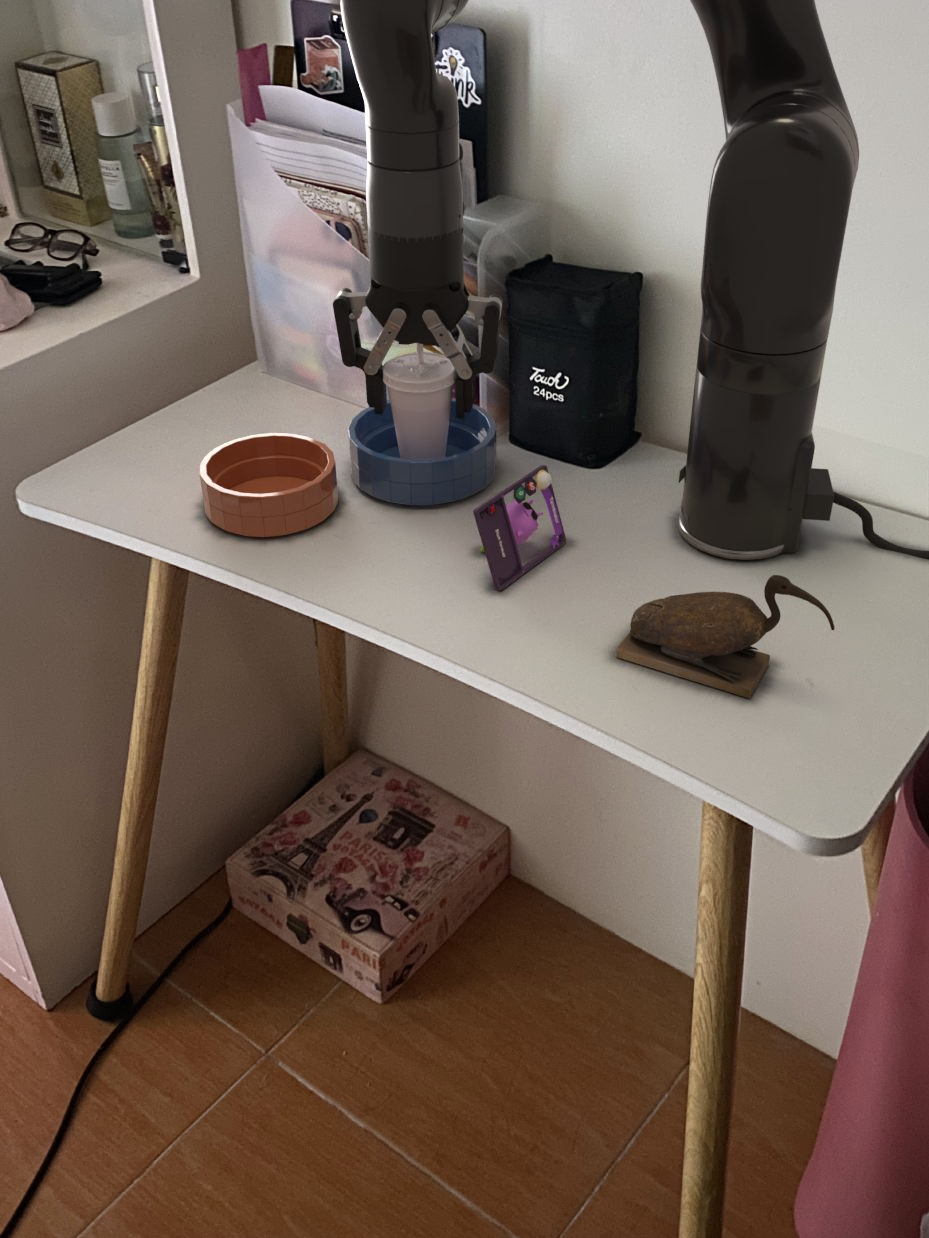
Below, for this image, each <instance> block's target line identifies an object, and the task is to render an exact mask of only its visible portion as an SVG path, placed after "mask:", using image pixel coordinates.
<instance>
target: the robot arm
mask: <svg viewBox="0 0 929 1238" xmlns="http://www.w3.org/2000/svg"><path fill="white" fill-rule="evenodd" d="M689 1H690V3H691V5H692V7H693V9H694V11H695V13H696V15H697V17H698V19H699V22H700V24H701V26H702V29H703V31H704V36H705V38H706V41H707V44H708V47H709V51H710V55H711V60H712V64H713V68H714V72H715V78H716V82H717V87H718V88H717V89H718V94H719V98H720V105H721V112H722V118H723V125H724V132H725V133H724V134H725V142H724V143H723V145H722V146H721V148H720V150H719V152H718V154H717V157H716V159H715V162H714V165H713V169H712V174H711V177H710V184H709V191H708V199H707V210H706V220H705V233H704V242H703V243H704V244H703V253H702V254H703V256H702V268H701V276H700V277H701V279H700V297H701V298H700V299H701V303H702V304H701V305H702V307H701V309H702V311H701V320H700V321H701V322H700V330H699V338H698V339H699V340H698V349H697V357H696V368H695V376H694V377H695V378H694V386H693V395H692V405H691V413H690V422H689V433H688V442H687V449H686V450H687V451H686V461H685V465H684V466H683V468H681V469H680V470H679V473H678V483H677V484H678V485H679V484H680V483H681V482H682V481H683V489H682V491H683V492H682V498H681V503H680V512H679V515H678V526H677V527H678V530H679V533H680V535H681V536H682V537H683V539H684V540H685V541H686V542H687V543H688V544H690V545H691V546H693V547H694V548H696V549H698V550H700V551H702V552H704V553H706V554H708V555H712V556H716V557H720V558H724V559H730V560H740V561H741V560H743V561H753V560H761V559H768V558H771V557H774V556H777V555H779V554H782V553H794V554H795V553H797V552H798V548H799V542H800V536H801V530H802V524H803V520H805V521H806V520H807V521H808V520H809V521H827V522H830V521H831V516H832V511H833V504H835V505H838V506H840V507H843V508H845V509H847V510H849V511H851V512H853V513H855V514H856V515H857V516H858V518H860V519H861V524H862V533H863V536H864V538H865V539H866V540H867V541H868V542H870V543H871V544H872V545H874V547H875V546H876V547H877V548H879V549H883V550H886V551H890V552H895V553H899V554H903V555H908V556H911V557H916V558H920V559H924V560H929V550H923V549H922V550H921V549H914V548H909V547H904V546H901V545H897V544H895V543H893V542H891V541H888V540H886V539H885V538H883V537H882V536H880V535H879V534H878V533H876V532H875V530H874V519H873V517H872V514H871V512H870V511H869V510H868V509H867V508H866V507H865V506H864V505H862V504H861V503H859V502H858V501H857V500H854V499H852V498H850V497H848V496H845V495H843V494H841V493H838V492H836V491H834V488H833V485H832V480H831V476H830V471H829V469H828V468H813V461H814V455H815V449H816V445H815V439H814V435H813V427H814V421H815V415H816V410H817V403H818V398H819V392H820V387H821V386H820V385H821V381H822V380H821V379H822V373H823V368H824V362H825V357H826V351H827V345H828V338H829V335H830V334H829V333H830V329H831V324H832V319H833V312H834V304H835V296H836V288H837V282H838V275H839V271H840V270H839V269H840V263H841V257H842V252H843V246H844V242H845V241H844V240H845V235H846V230H847V225H848V224H847V222H848V218H849V212H850V206H851V200H852V196H853V195H852V194H853V189H854V186H855V182H856V178H857V174H858V170H859V165H860V164H859V161H860V146H859V145H860V144H859V138H858V134H857V130H856V127H855V124H854V121H853V119H852V116H851V112H850V110H849V107H848V104H847V101H846V99H845V95H844V92H843V90H842V87H841V84H840V81H839V79H838V78H839V77H838V76H837V72H836V69H835V66H834V64H833V63H834V62H833V60H832V57H831V53H830V50H829V47H828V43H827V41H826V37H825V35H824V31H823V28H822V24H821V21H820V17H819V13H818V10H817V5H816V0H689ZM469 2H470V0H339V3H340V5H339V6H340V14H341V15H340V16H341V21H342V25H343V31H344V35H345V39H346V42H347V46H348V50H349V53H350V57H351V61H352V65H353V68H354V73H355V76H356V80H357V82H358V84H359V88H360V92H361V94H362V98H363V102H364V121H365V122H364V123H365V140H366V158H367V160H366V165H367V166H366V181H365V203H366V206H365V207H366V222H367V224H366V225H367V240H368V243H367V244H368V258H369V259H368V260H369V276H370V277H369V279H370V284H369V288H368V290H367V291H352V290H351V289H350V288H348V287H343V288H341V289H340V290H339V292H338V293H337V295H336V296H335V298H334V300H333V302H332V309H333V315H334V320H335V327H336V332H337V333H336V334H337V339H338V344H339V350H340V355H341V357H340V358H341V361H342V364H343V365H344V366H345V367H347V368H353V367H355V368H357V369H360V370H361V371H362V372H363V373H364V376H365V393H366V403H367V405H368V407H373V408H374V411H375V414H384V412H385V409H386V406H387V400H388V397H387V396H388V395H387V385H386V384H385V383H384V382H383V380H382V377H383V365H384V364H383V362H384V360H385V358H386V356H387V355H388V353H389V350H390V349H391V347H392V346H393V343H394V341H396V342H398V345H403V346H404V345H405V346H406V345H408V346H409V345H413V344H417V343H420V344H423V346H426V347H427V346H429V347H436V346H437V344H438V346H439V348H440V350H441V351H442V353H443V355H444V356H446V358H447V359H449V360H450V361H451V363H452V365H453V367H454V368H455V370H456V372H457V376H456V379H455V383H454V385H455V387H454V388H455V389H454V390H455V399H456V418H459V419H464V418H465V415H466V412H469V413H470V412H471V409H472V407H473V404H474V403H475V376H477V375H479V374H486V375H488V374H491V373H492V372H493V371H494V368H495V362H496V361H497V357H498V347H499V337H500V329H501V320H502V311H503V301H504V300H503V298H502V296H501V295H499V294H497V293H492V294H491V295H489V296H488V297H486V296H485V297H484V296H478V295H477V296H476V295H471V294H470V292H469V290H468V288H467V287H466V284H465V272H464V270H465V269H464V265H465V264H464V263H465V262H464V261H465V260H464V258H465V257H464V215H465V201H464V191H463V187H464V186H463V179H462V173H461V165H460V114H459V113H460V112H459V101H458V92H457V89H456V86H455V85H454V83H453V81H452V80H451V79H450V78H448V77H447V76H445V75H444V74H442V73H439V72H437V67H436V61H435V54H434V48H433V41H432V34H433V33H436V32H438V31H441V30H444V29H446V28H447V27H449V26H450V25H451V24H452V23H454V22H455V21H456V20H458V17H460V15H461V14H462V13H463V11H464V10H465V8H466V7H467V5H468V3H469ZM364 308H367V310H368V311H369V312H370V313H371V314H372V316H373V317H374V318H375V319H376V321H377V322H378V323H379V325H380V326H381V327H382V329H381V330H380V333H379V334H378V337H377V339H376V340H375V342H374V344H373V347H372V348H371V350H370V349H367V348H364V347H362V341H361V335H360V328H359V324H358V323H359V322H358V320H359V319H360V318H361V316H362V314H363V312H364V311H363V310H364ZM468 311H470V312H471V313H472V314H473V315H474V321H475V323H476V324H477V325H478V326H481V327H482V334H481V343H480V344H481V345H480V352H479V353H475V354H473V352H472V351H471V349H470V347H469V345H468V343H467V341H466V337H465V334H464V333H463V331H462V329H461V327H460V325H459V322H460V321H461V320H462V318H464V316H465V315H466V314H467V312H468ZM474 405H475V404H474Z"/></svg>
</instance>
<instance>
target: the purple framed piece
mask: <svg viewBox="0 0 929 1238" xmlns="http://www.w3.org/2000/svg"><path fill="white" fill-rule="evenodd" d="M534 477H535V478H534ZM552 481H553V480H552V476H551V474H550V472H549V469H548V466H547V465H546V464H542V465H541V464H540V465H539V466H538V467H536V468H535V469H533V470H532V471H530V472H529V473H527V474H526V475H524V476H522V477H521V478H519V479H518V480H516V481H515V482H512V484H510V485H509V486H507V487H506V488H504V489H502V490H501V491H499V492H498V493H496V494H495V495H494V496H493V495H492V497H490V498H489V499H487V500H485V501H484V502H483V503H481V504H480V505H478V506H476V507H475V508H474V509H473V510H472V511H473V512H472V514H473V517H474V520H475V525H476V528H477V530H478V535H479V537H480V541H481V545H482V546H481V547H480V549H479V551H480V552H481V553H484V555H485V558H486V562H487V566H488V569H489V571H490V572H489V573H490V575H491V579H492V582H493V585H494V588H495V590H496V591H502V590H505V588H507V587H508V586H510V584H512V583H513V582H515V581H516V580H518V579H519V578H520V577H522V576H523V575H524V574H525V573H527V572H528V571H530V570H531V569H532V568H534V567H535V566H536V565H537V564H539V563H541V562H542V561H543V560H544V559H546V558H547V557H549V556H550V555H551V554H553V553H554V552H555V551H557V550H558V549H559V548H561V547H563V545H565V544H566V543H567V537H566V533H565V529H564V525H563V521H562V518H561V514H560V510H559V507H558V502H557V499H556V495H555V492H554V488H553V484H552ZM523 484H524V485H523ZM537 487H538V489H539V490H540V492H541V494H542V496H543V499H544V502H545V504H546V507H547V511H548V513H549V517H550V520H551V523H552V527H553V532H554V534H553V535H552V536H551V537H550V542H551V545H549V546H548V547H547V548H546V549H544V550H543V551H541V552H540V553H539V554H537V555H536V556H534V557H533V558H532V559H531V560H529V561H528V562H526V563H525V564H523V563H522V560H521V554H520V552H519V548H518V546H520V545H521V544H523V543H524V542H526V541H527V540H528V539H530V537H532V535H533V534H534V533H535V532H536V531H537V530H540V528H539V527H541V526H543V524H542V523H539V521H538V518H539V517H540V516H543V514H544V512H543V511H539V512H536V510H535V509H534V508H533V506H532V505H533V503H534V500H533V499H530V500H529V501H526V498H527V497H526V496H528V497H531V496H533V495H534V494H536V493H537ZM512 491H513V497H512V498H513V500H514V501H513V502H510V503H508V504H507V505H506V501H505V496H506V495H508V494H509V493H511V492H512Z"/></svg>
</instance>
